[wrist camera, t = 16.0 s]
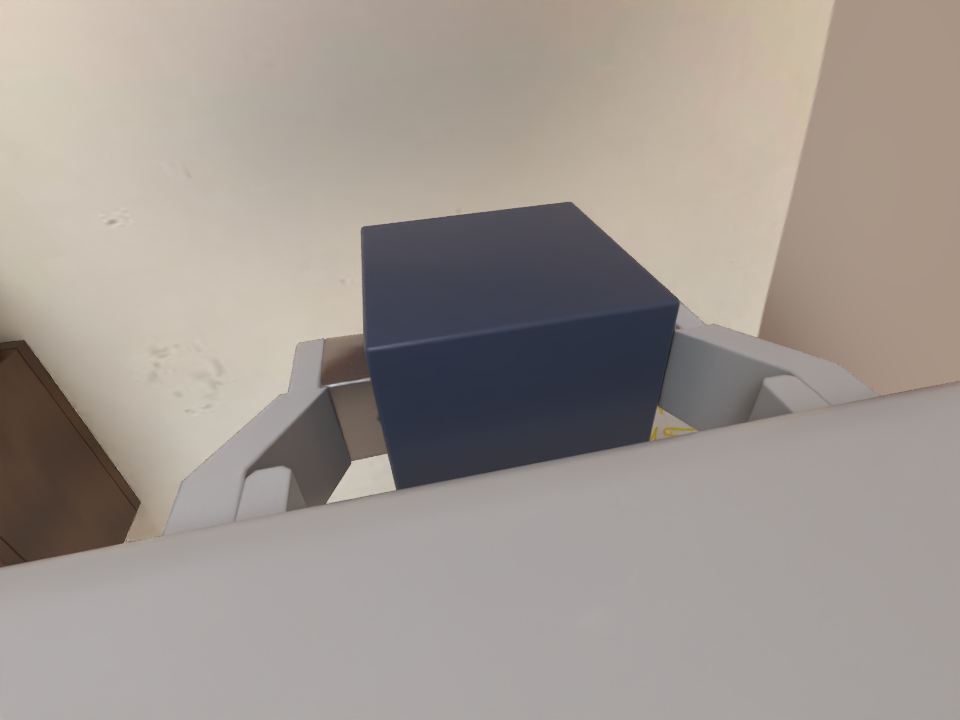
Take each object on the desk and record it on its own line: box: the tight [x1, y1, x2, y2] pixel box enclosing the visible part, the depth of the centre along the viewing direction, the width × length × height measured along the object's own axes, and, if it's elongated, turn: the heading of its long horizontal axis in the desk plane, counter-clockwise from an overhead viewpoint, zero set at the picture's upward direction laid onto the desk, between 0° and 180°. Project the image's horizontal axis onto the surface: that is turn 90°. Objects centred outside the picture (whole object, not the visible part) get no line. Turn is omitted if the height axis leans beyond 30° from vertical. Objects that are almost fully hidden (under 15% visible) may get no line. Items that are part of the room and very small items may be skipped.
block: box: [361, 202, 680, 490], centre depth 10 cm, size 4×4×4 cm
